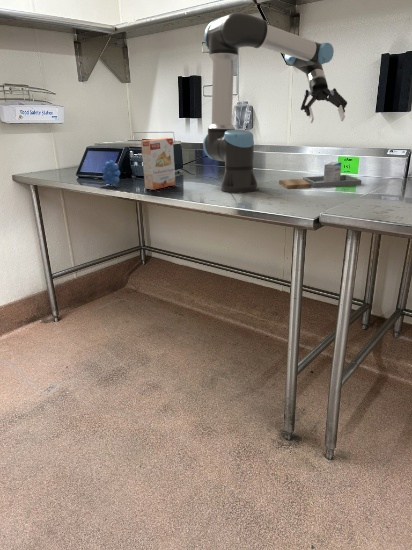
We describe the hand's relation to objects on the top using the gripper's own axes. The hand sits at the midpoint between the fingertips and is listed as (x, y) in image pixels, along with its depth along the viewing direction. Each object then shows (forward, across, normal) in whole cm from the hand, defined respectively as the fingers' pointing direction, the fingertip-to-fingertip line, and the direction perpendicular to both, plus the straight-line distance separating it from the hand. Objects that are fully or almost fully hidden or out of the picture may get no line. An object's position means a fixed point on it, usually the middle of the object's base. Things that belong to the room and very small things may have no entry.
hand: (327, 119), depth 176 cm
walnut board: (+25, +17, -11) cm, 32 cm away
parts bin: (+25, +1, -11) cm, 27 cm away
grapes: (+7, +96, -28) cm, 100 cm away
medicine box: (+26, +1, -10) cm, 28 cm away
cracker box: (+16, +74, -19) cm, 78 cm away
